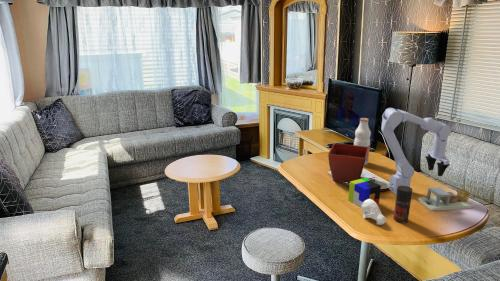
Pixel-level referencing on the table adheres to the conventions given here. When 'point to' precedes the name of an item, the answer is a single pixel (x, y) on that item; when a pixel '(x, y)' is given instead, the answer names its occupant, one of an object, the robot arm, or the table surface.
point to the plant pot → (347, 162)
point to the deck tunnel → (437, 204)
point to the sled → (457, 196)
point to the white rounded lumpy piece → (372, 211)
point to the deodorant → (402, 204)
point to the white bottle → (363, 136)
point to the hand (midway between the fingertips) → (435, 172)
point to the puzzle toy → (363, 191)
